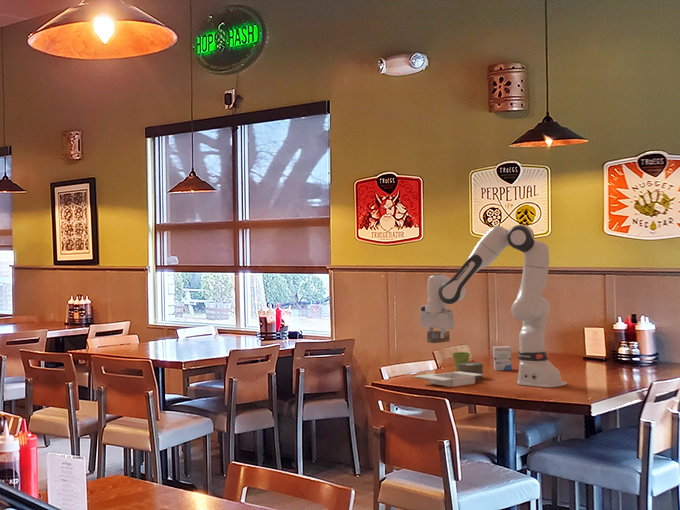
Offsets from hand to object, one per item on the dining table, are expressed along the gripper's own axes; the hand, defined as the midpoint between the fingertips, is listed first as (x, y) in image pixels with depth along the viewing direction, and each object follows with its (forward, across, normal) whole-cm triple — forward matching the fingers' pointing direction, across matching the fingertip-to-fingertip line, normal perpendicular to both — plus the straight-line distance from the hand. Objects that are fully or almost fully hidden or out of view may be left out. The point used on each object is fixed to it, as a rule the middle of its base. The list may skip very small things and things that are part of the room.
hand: (436, 337), depth 379 cm
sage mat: (+20, +8, -3) cm, 22 cm away
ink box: (+20, +1, -46) cm, 50 cm away
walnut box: (+2, 0, -1) cm, 2 cm away
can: (+20, -6, -16) cm, 26 cm away
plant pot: (+20, +14, -30) cm, 39 cm away
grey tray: (+20, -12, +2) cm, 23 cm away
